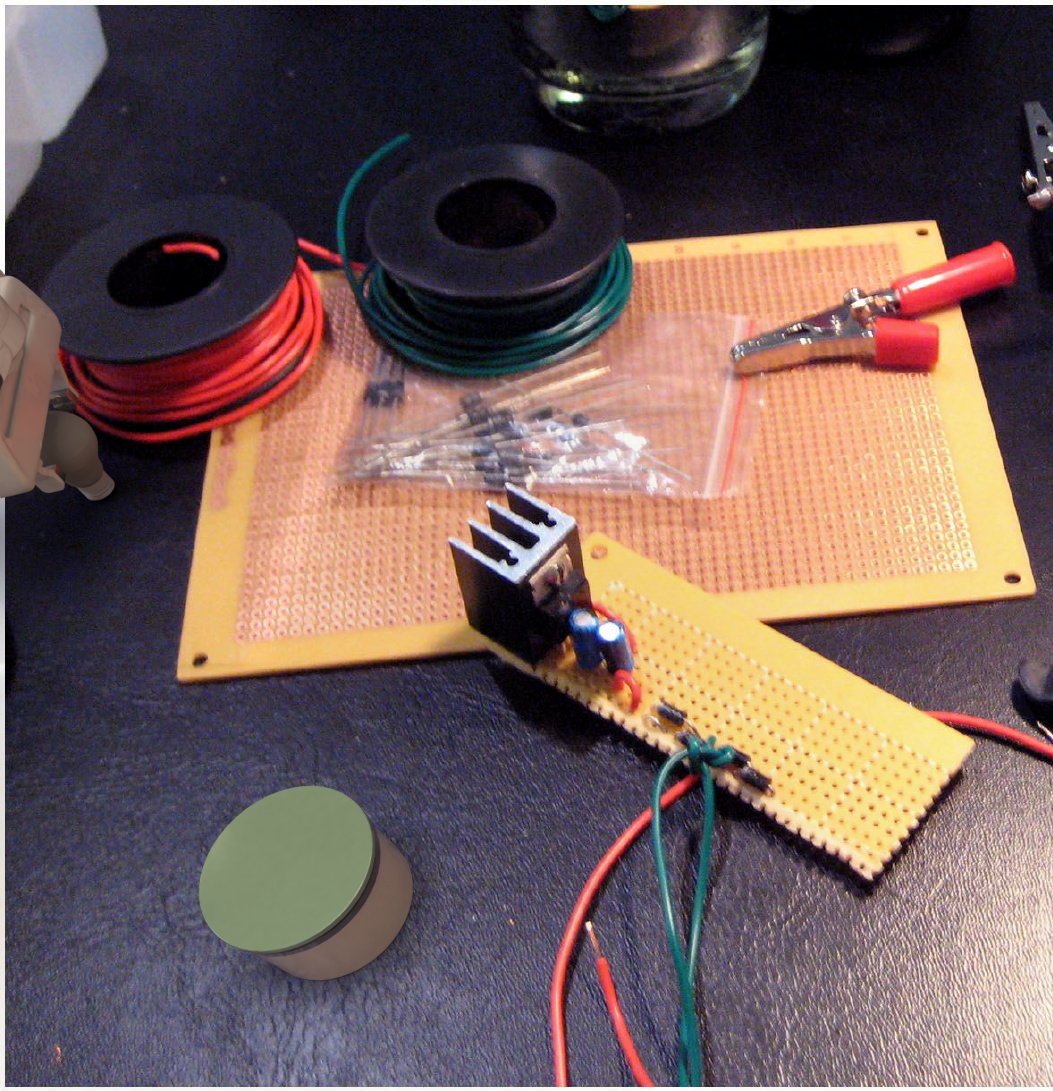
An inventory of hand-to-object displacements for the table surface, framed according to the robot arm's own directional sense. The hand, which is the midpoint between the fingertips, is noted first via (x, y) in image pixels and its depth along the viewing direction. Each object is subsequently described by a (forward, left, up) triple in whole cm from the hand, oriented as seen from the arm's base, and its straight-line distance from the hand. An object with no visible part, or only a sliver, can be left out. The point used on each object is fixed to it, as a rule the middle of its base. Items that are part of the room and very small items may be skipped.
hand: (63, 443), depth 106 cm
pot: (+20, -46, -7) cm, 51 cm away
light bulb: (-1, 0, -7) cm, 7 cm away
